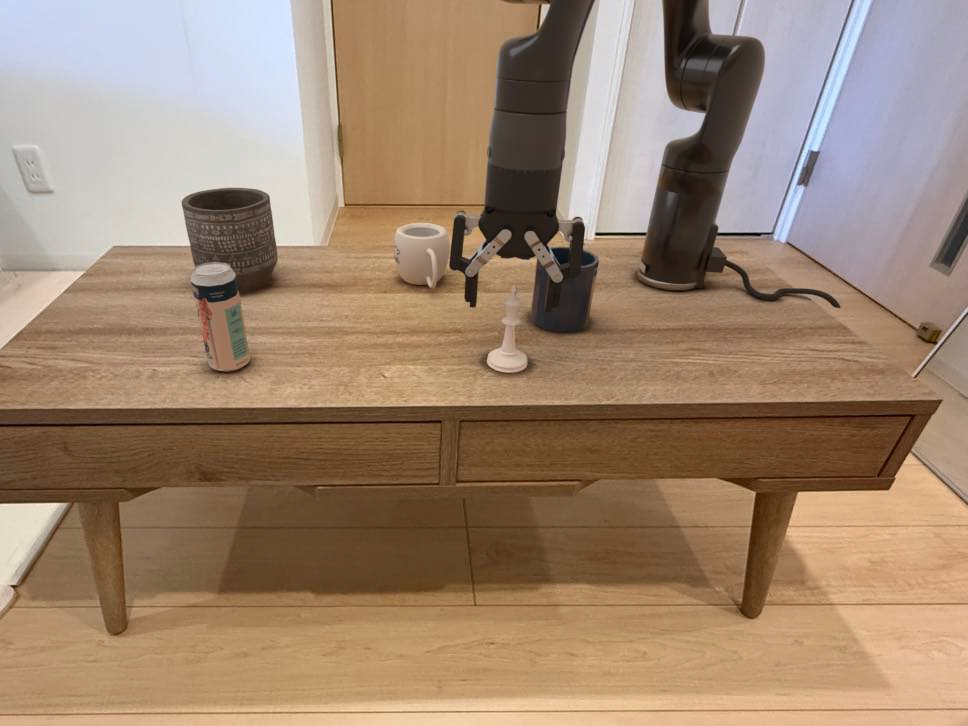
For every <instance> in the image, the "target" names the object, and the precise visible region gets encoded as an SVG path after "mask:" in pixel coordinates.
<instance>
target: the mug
mask: <svg viewBox="0 0 968 726" xmlns="http://www.w3.org/2000/svg"><path fill="white" fill-rule="evenodd" d="M449 237H450V236H449V234H448V231H447V229H446V228H445V227H443V226H442V225H438V224H436V223H429V222H412V223H408V224H405V225H402V226H399V227H398V228H397V229H396V232H395V234H394V238H393V239H394V240H393V256H394V262H395V266H396V269H397V272H398V274H399V277H400V278H401V279H402V280H403V281H404V282H405V283H408V284H411V285H416V286H428V288H429V289H432V290H434V289H435V288H436V287H437V283H438V282H439V281H440V280H441V279H442V278H443V276H444V274H445V272H446V269H447V266H448V263H449V259H450V238H449Z"/></svg>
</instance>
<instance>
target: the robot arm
mask: <svg viewBox="0 0 968 726" xmlns="http://www.w3.org/2000/svg"><path fill="white" fill-rule="evenodd" d="M500 1H501V2H504V3H508V4H513V5H514V4H515V5H549V7H548V10H547V12H546V15H545V17H544V19H543V21H542V23H541V24H540V26H539V28H538V29H537V30H536V31H534V32H532V33H528V34H522V35H518V36H514V37H511V38H509V39H507V40H505V41H504V42H503V43H502V44H501V45H500V48H499V51H498V54H497V63H496V74H495V90H494V102H493V103H494V105H493V111H492V112H493V113H492V119H491V123H490V128H489V137H488V146H487V150H486V156H487V161H486V162H487V165H486V177H485V178H486V179H485V190H484V191H485V192H484V207H483V210H482V212H481V213H480V215H477V214H470V213H466V211H465V210H463V209H462V210H458V211H456V213H455V216H454V218H453V224H452V225H453V226H452V233H451V234H452V235H451V245H450V251H449V261H448V263H449V264H448V266H449V269H450V270H451V271H458V272H460V273H461V274H463V275H464V295H463V296H464V301H465V303H469V308H473V309H475V308H476V307H477V301H478V288H479V272H480V271H481V269H482V268H483V267H484V266H485V265H487V264H488V263H489V262H490V261H491V260H492V259H493V257H494V256H496V255H497V256H498V257H500V259H506V260H507V259H508V260H509V259H513V258H517V259H520V260H525V261H530V260H531V259H532V258H535V257H536V259H537V258H538V260H539V261H540V263H541V265H542V266H543V267H544V268H545V269H546V271H547V273H548V274H549V275H548V282H547V289H546V297H545V305H544V308H545V312H550V313H551V311H552V308H556V307H557V306H558V304H559V297H560V291H561V284H562V282H563V281H564V280H565V279H567V278H571V277H572V278H577V277H579V276H580V274H581V265H582V255H583V249H584V243H585V234H586V225H585V223H584V219H583V217H582V216H575V217H573V218H572V219H558V216H557V209H558V203H559V194H560V188H561V187H560V186H561V180H562V179H561V178H562V173H563V163H564V160H565V157H566V142H567V119H568V118H567V117H568V109H569V108H568V107H569V100H570V94H571V93H570V92H571V86H572V78H573V69H574V65H575V61H576V58H577V54H578V50H579V47H580V44H581V42H582V38H583V35H584V32H585V29H586V26H587V23H588V21H589V18H590V15H591V12H592V10H593V7H594V5H595V3H596V0H500ZM661 4H662V5H661V7H662V20H663V21H662V22H663V23H662V25H663V58H664V59H663V62H664V63H663V64H664V80H665V81H664V82H665V88H666V93H667V96H668V99H669V101H670V103H671V104H672V105H673V106H674V107H675V108H677V109H680V110H682V111H687V112H693V113H698V114H704V117H703V120H702V122H701V125H700V128H699V129H698V131H696V132H695V133H694V134H691V135H690V136H685V137H681V138H676V139H673V140H671V141H668V143H666V145H665V147H664V150H663V154H662V160H661V164H660V169H659V173H658V177H657V184H656V187H655V191H654V197H653V201H652V206H651V210H650V215H649V220H648V223H647V224H648V225H647V229H646V235H645V237H644V238H645V239H644V243H643V248H642V253H641V257H640V258H639V257H638V258H637V261H636V265H637V266H638V268H637V271H636V272H637V273H636V276H637V279H638V280H639V281H640V282H641V283H643V284H646V285H648V286H650V287H653V288H657V289H661V290H667V291H689V290H693V289H703V286H704V282H705V279H706V276H707V273H714V274H715V273H717V274H723V272H724V269H725V267H727V268H729V269H731V270H732V271H735V273H737V274H738V275H739V276H740V277H741V279H742V284H743V286H744V289H745V290H746V291H747V292H748V294H750V295H751V296H753V297H755V298H758V299H762V300H770V301H771V300H777V299H778V298H779V297H780V296H781V295H785V294H787V295H788V294H789V295H812V296H815V297H819V298H822V299H824V300H825V301H827V302H828V303H829V304H830V305H831V306H832V307H833V308H835V309H841V304H840V303H839V302H838V301H837V300H836V299H835V297H833V296H832V295H830V293H827V292H825V291H822V290H820V289H815V288H814V289H813V288H801V287H799V288H797V287H783V288H778V289H777V290H776V291H775V292H774V293H766V292H765V293H764V292H760V291H758V290H756V288H754V287H753V286H752V284H751V282H750V278H749V275H748V273H747V272H746V271H745V269H744V268H742V267H741V266H739V265H738V264H736V263H734V262H732V261H729V260H728V257H727V256H726V254H725V253H724V252H723V251H722V250H721V248H720V247H718V246H715V243H716V240H717V236H718V232H719V225H718V224H717V223H716V221H717V218H718V213H719V210H720V207H721V204H722V199H723V195H724V193H725V189H726V185H727V181H728V178H729V174H730V170H731V167H732V163H733V160H734V158H735V156H736V154H737V152H738V151H739V148H740V147H741V144H742V141H743V138H744V136H745V134H746V133H745V132H746V129H747V126H748V123H749V120H750V117H751V114H752V110H753V107H754V105H755V102H756V99H757V96H758V93H759V90H760V87H761V84H762V80H763V76H764V71H765V64H766V51H765V47H764V44H763V42H762V41H761V40H760V39H759V38H756V37H754V36H747V35H734V34H731V35H730V34H719V33H717V34H715V33H713V30H712V29H711V28H712V27H711V24H710V0H661ZM476 227H477V228H478V229H479V231H480V233H481V234H482V235H483V237H484V239H485V240H484V241H482V243H481V244H480V245H479V247H478V248H477V250H476V251H475V252H474V253H473V254H472V255H471V256H470V258H468V257H465V256H463V251H464V242H465V237H467V236H470V235H471V234H472V233H473V229H475V228H476ZM559 232H560V233H562V234H563V239H564V240H565V242H568V243H569V246H568V247H569V257H568V263H565V264H561V265H560V264H559V263H558V261H557V259H556V258H555V256H554V255H553V252H552V250H551V249H550V246H549V243H550V242H551V241H552V239H553V238H555V236H556V235H558V233H559Z"/></svg>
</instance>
